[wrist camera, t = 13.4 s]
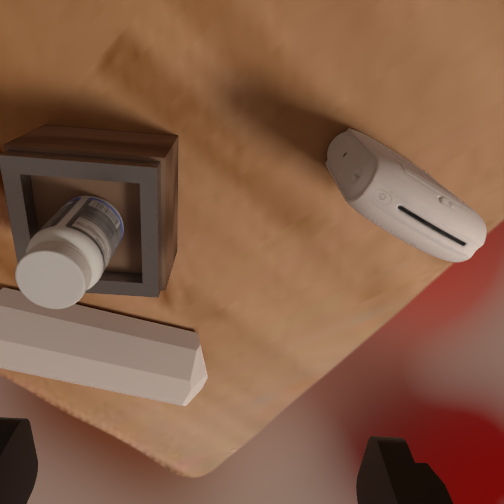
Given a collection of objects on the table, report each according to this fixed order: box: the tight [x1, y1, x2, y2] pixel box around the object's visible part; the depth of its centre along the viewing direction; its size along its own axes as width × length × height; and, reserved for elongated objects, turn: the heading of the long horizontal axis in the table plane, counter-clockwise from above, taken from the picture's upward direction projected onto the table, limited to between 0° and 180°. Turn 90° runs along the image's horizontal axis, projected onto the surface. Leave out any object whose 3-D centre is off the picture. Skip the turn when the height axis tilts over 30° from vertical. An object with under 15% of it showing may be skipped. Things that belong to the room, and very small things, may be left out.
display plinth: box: [0, 125, 178, 297], centre depth 35 cm, size 11×11×8 cm
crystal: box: [0, 288, 208, 406], centre depth 44 cm, size 7×7×24 cm
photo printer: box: [325, 128, 486, 262], centre depth 33 cm, size 10×4×12 cm, turn 60°
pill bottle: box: [15, 196, 124, 309], centre depth 29 cm, size 5×5×8 cm
